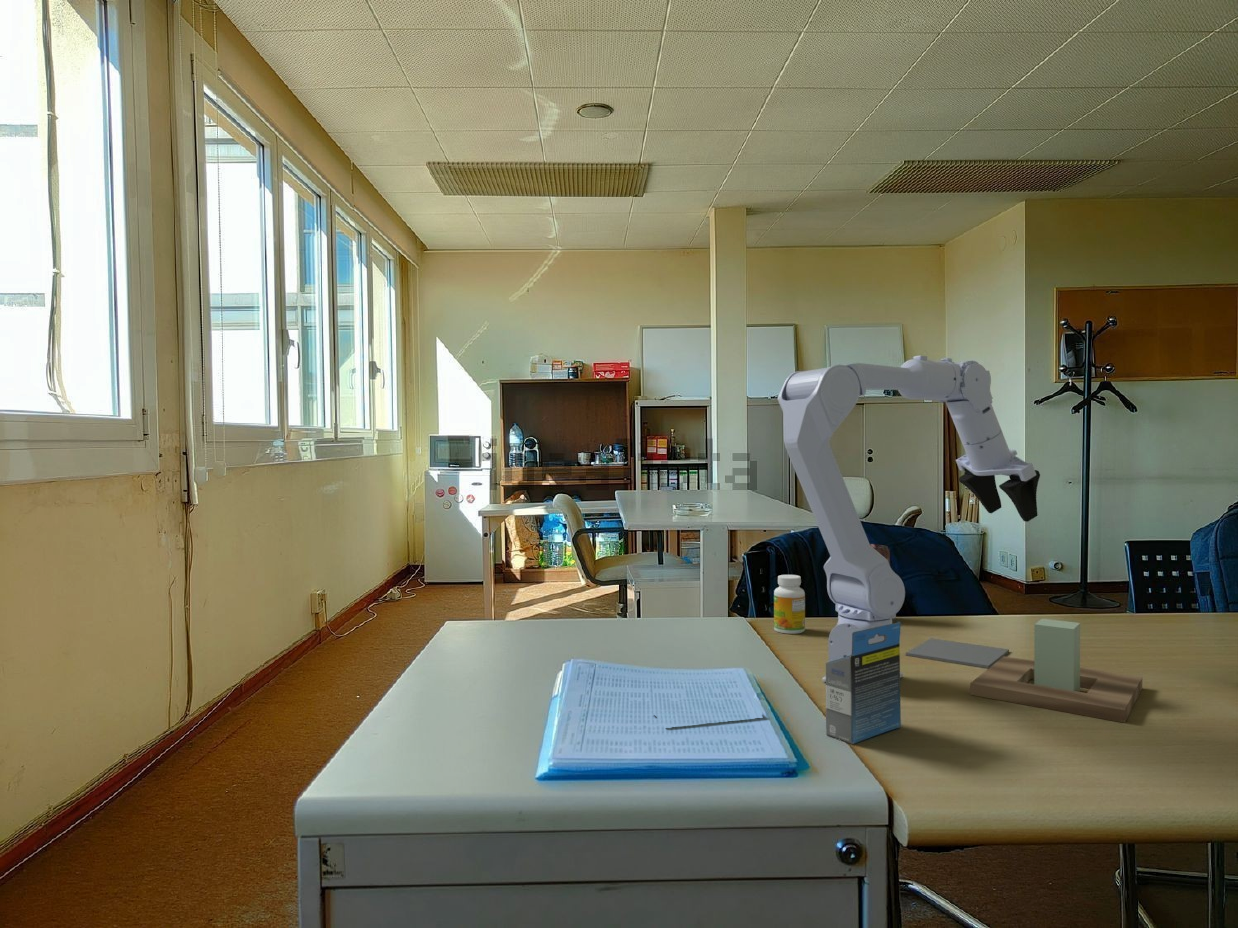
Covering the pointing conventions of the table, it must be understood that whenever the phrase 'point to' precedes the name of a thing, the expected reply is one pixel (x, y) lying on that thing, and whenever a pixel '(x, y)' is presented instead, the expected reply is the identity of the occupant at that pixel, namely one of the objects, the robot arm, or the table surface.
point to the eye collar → (1060, 690)
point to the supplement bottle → (789, 605)
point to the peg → (1057, 654)
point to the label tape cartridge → (865, 687)
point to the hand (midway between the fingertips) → (1012, 514)
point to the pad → (958, 652)
